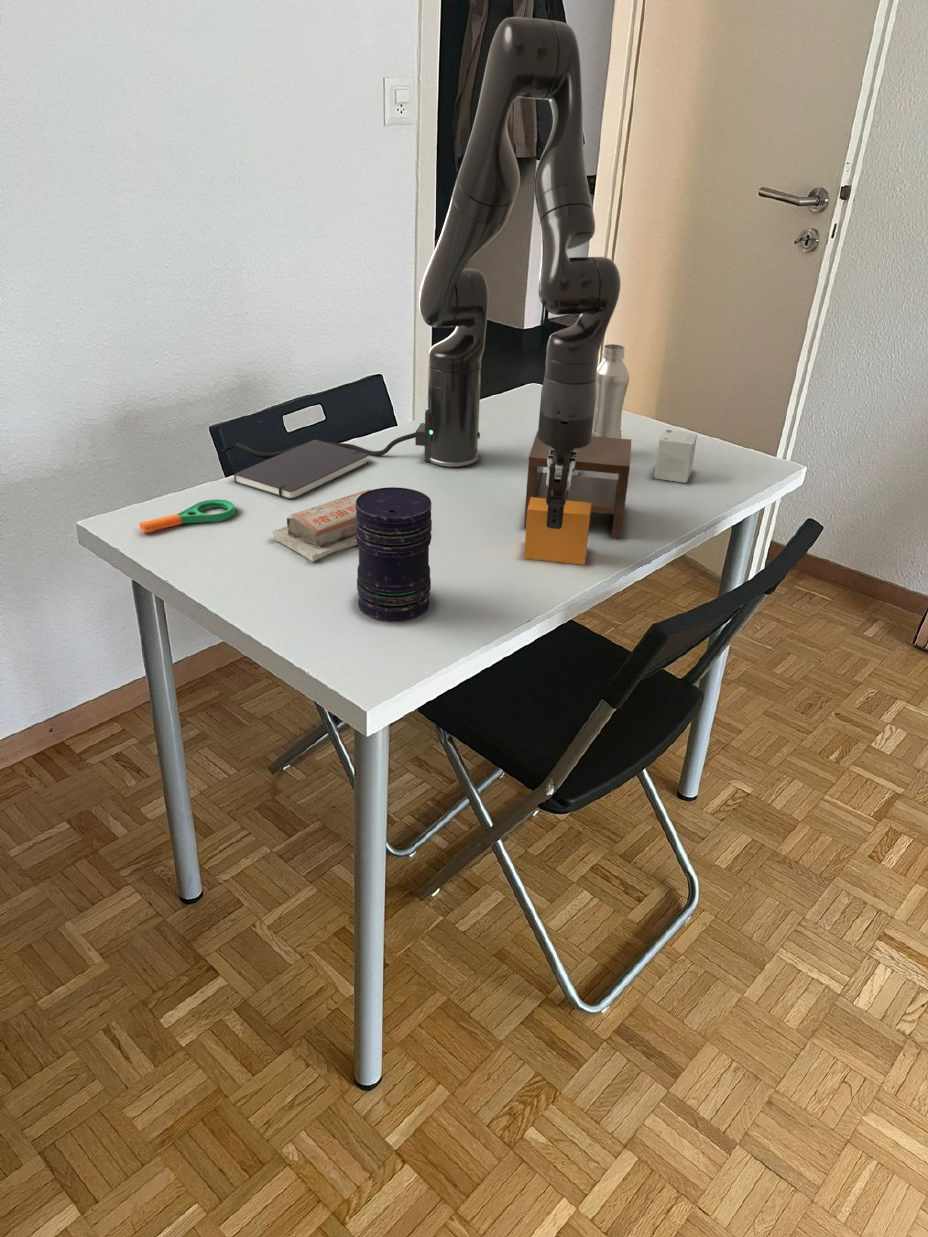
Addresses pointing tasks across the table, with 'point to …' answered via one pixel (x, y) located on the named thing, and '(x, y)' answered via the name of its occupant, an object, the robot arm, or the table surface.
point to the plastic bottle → (610, 392)
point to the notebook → (301, 469)
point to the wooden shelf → (597, 491)
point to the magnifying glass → (191, 515)
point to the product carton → (675, 456)
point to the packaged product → (321, 528)
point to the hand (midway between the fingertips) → (556, 515)
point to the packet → (557, 533)
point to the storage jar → (393, 553)
